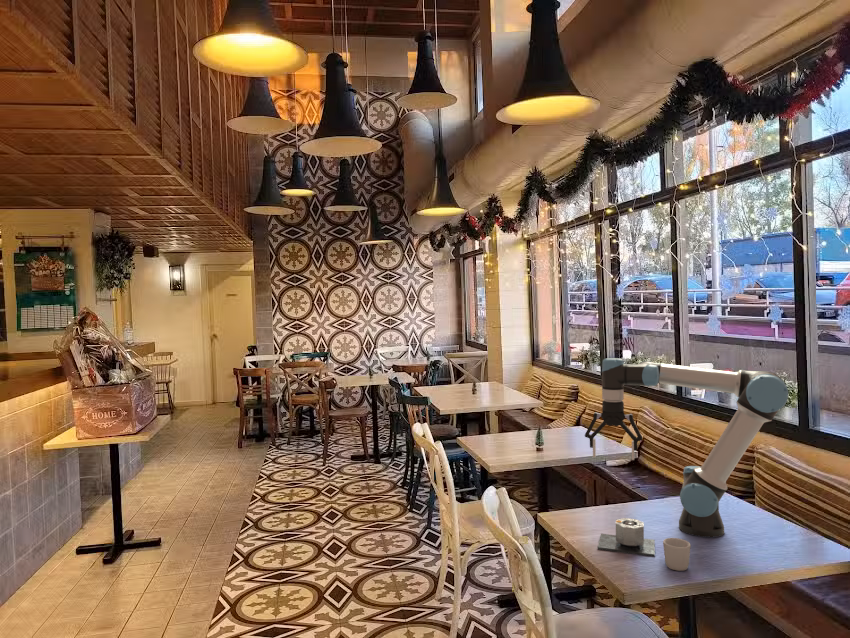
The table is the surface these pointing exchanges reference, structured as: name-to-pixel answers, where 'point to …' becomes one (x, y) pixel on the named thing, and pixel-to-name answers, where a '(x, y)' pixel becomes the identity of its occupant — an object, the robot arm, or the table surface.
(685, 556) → the cup
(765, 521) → the table surface
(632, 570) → the table surface
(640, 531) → the ring
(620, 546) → the plate with peg
